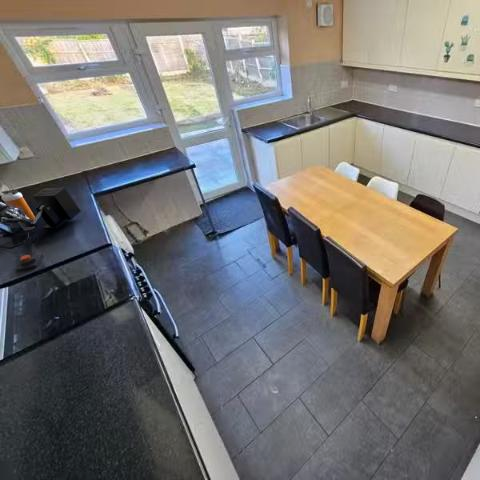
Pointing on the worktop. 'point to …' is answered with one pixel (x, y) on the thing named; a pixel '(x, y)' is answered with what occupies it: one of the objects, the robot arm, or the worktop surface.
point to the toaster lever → (36, 218)
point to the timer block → (30, 262)
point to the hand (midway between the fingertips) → (30, 223)
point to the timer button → (25, 258)
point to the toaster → (58, 202)
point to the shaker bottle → (17, 202)
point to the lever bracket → (50, 217)
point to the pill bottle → (25, 224)
